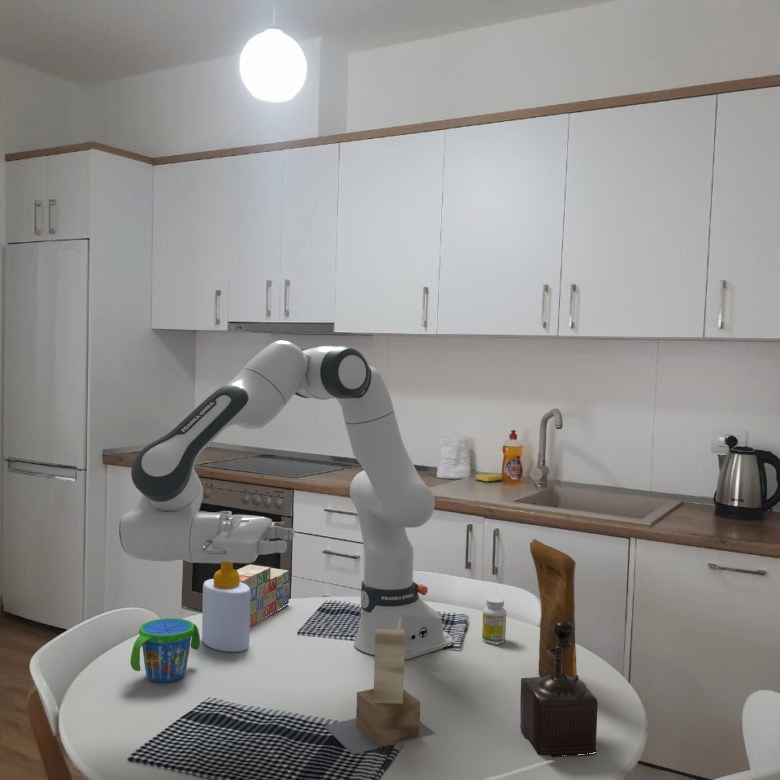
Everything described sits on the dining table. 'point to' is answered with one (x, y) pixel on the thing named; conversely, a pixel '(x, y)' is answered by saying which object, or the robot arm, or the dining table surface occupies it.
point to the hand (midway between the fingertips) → (290, 540)
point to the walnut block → (387, 718)
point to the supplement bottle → (494, 621)
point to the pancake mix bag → (554, 604)
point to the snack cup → (165, 648)
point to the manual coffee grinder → (558, 707)
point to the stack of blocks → (265, 590)
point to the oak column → (389, 666)
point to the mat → (363, 736)
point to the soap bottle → (226, 611)
